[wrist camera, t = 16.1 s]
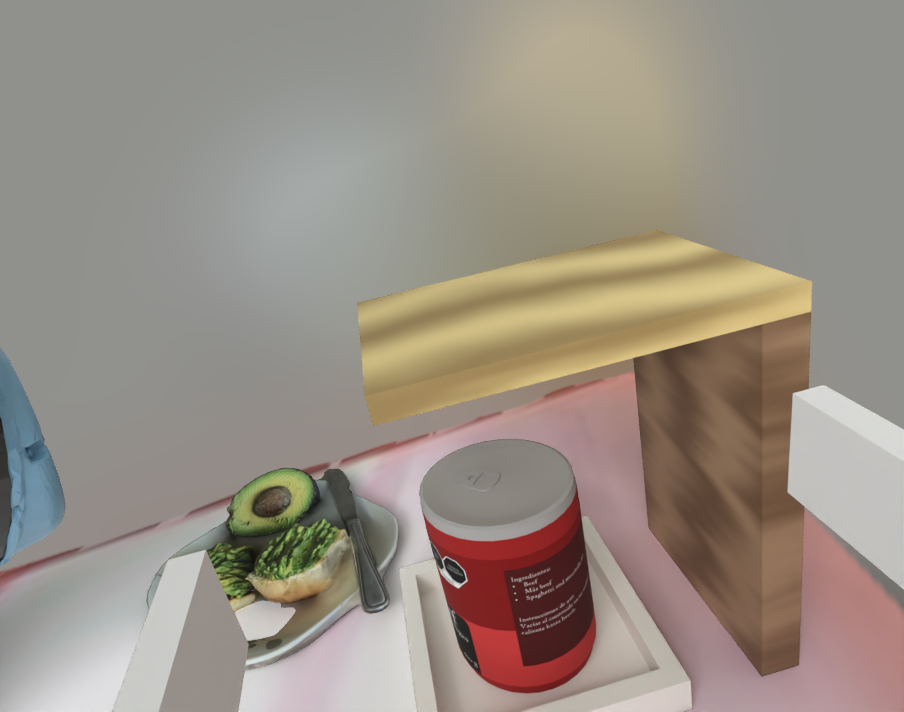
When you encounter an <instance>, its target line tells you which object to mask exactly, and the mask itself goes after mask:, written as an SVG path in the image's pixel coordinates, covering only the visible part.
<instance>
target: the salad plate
mask: <svg viewBox="0 0 904 712" xmlns="http://www.w3.org/2000/svg"><path fill="white" fill-rule="evenodd" d="M349 485H350V483H349V481H348V479H347V477H346V476H345V474H344V473H343V472H342V471H341V470H340V469H328V470H327V471H325V473H324V476H323V477H322V478H321V479H319V480H314V479H313V478H312V476H310V475H309V474H307V473H306V472H303V471H301V470H299V469H294V468H281V469H279V470H274V471H271V472H268V473H266V474H264V475H262V476H260V477H258V478H256V479H254V480H253V481H251V482H250V483H249V484H247V485H246V486H244V487H243V488H242V489H241V490H240V491H239V492H238V493H237V494H236V495H235V496H234V497H233V499H232V503H231V505H230V506H229V507H228V508H227V511H228V512H229V514H230V516H229V518H228V519H227V521H226V522H224V523H223V524H221V525H220V526H218V527H216V528H214V529H212V530H211V531H209V532H208V533H206V534H205V535H203V536H201V537H200V538H198V539H196V540H195V541H193V542H191V543H190V544H188V545H187V546H185V547H184V548H182V549H181V550H180V551H178V552H177V553H176V554H174V555H173V556H172V557H171V558H169V559H173V558H177V557H180V556H184V555H188V554H192V553H195V552H199V551H203V550H206V551H207V553H208V556H209V558H210V560H211V562H212V565H213V567H214V569H215V571H216V573H217V576H218V578H219V580H220V582H221V585H222V587H223V589H224V591H225V593H226V596H227V598H228V600H229V602H230V604H231V607H232V609H233V611H236V610H238V609H241V608H243V607H245V606H247V605H249V604H252V603H255V602H257V601H261V600H265V601H273V602H279V603H281V607H283V608H287V607H295V610H296V612H295V614H294V615H293V617H292V618H291V619H290V620H289V622H288V623H287V624H286V625H285V626H284V627H283V628H282V629H281V630H280V631H279V632H278V633H277V634H276V635H274V636H271V637H267V638H263V639H259V640H252V641H247V642H248V644H249V646H248V652H247V659H246V665H245V670H250V669H255V668H259V667H263V666H266V665H269V664H272V663H274V662H276V661H278V660H280V659H282V658H285V657H287V656H289V655H291V654H293V653H295V652H297V651H299V650H301V649H303V648H304V647H306V646H307V645H309V644H310V643H312V642H313V641H315V640H316V639H317V638H318V637H320V636H321V635H322V634H323V633H324V632H325V631H326V630H327V629H329V628H330V627H331V626H332V625H333V624H334V623H335V622H336V621H338V620H339V619H340V618H341V617H342V616H343V615H345V614H346V613H347V612H349V611H350V610H351V609H353V608H354V607H356V606H357V605H360V606H361V608H362V610H363V611H365V612H366V613H369V614H371V613H377V612H380V611H382V610H384V609H385V608H386V607H387V606H388V605H389V602H390V598H389V595H388V592H387V590H386V587H385V585H384V583H383V579H382V578H383V575H384V573H385V571H386V569H387V567H388V565H389V564H390V562H391V560H392V559H393V557H394V556H395V554H396V550H397V542H398V524H397V520H396V518H395V516H394V515H393V514H392V513H390V512H389V511H387V510H386V509H384V508H383V507H381V506H379V505H376V504H374V503H372V502H370V501H368V500H366V499H364V498H362V497H359V496H356V495H353V494H352V491H351V490H349ZM169 559H168V560H169ZM168 560H167V561H168ZM167 561H166V563H165V564H164V565H163V566H162V567H161V568H160V569H159V571H158V572H157V574H156V575H155V578H154V579H153V581H152V584H151V586H150V589H149V590H148V595H147V604H148V608H149V610H150V607H151V604H152V601H153V599H154V596H155V593H156V591H157V588H158V585H159V582H160V580H161V577H162V574H163V572H164V569H165V566H166V564H167Z"/></svg>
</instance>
